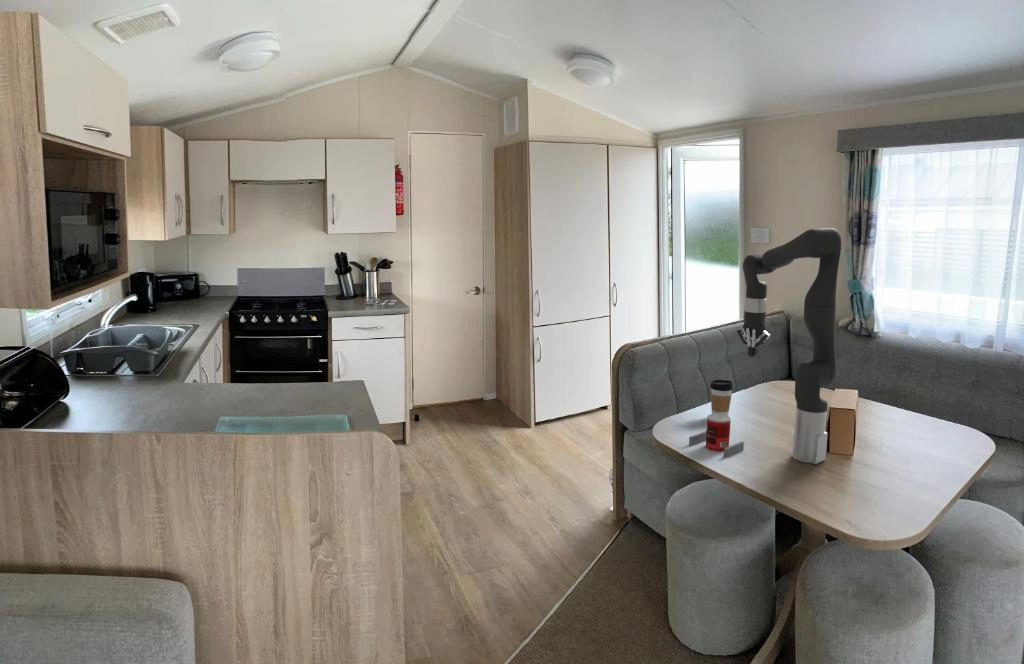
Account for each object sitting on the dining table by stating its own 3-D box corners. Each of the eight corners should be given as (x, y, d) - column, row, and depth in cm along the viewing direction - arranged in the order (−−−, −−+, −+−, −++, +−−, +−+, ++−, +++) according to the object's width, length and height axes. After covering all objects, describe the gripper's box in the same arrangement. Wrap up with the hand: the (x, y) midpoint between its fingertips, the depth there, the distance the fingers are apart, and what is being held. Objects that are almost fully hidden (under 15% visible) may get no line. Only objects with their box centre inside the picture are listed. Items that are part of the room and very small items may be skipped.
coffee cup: (726, 423, 266) (728, 385, 263) (705, 419, 271) (707, 381, 268) (734, 417, 273) (736, 380, 270) (713, 413, 278) (715, 377, 275)
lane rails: (743, 450, 240) (743, 442, 239) (726, 457, 234) (726, 449, 233) (706, 438, 251) (706, 430, 251) (688, 445, 245) (689, 436, 244)
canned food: (731, 445, 244) (733, 415, 242) (725, 453, 237) (727, 422, 235) (708, 442, 248) (710, 412, 246) (703, 449, 241) (704, 418, 239)
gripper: (777, 311, 251) (774, 358, 255) (744, 306, 261) (741, 351, 265) (766, 313, 246) (762, 361, 250) (733, 308, 256) (730, 354, 260)
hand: (752, 356), depth 257 cm, fingers closed
